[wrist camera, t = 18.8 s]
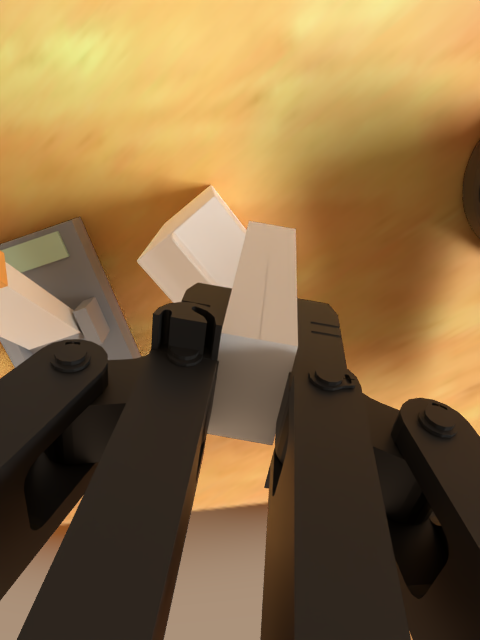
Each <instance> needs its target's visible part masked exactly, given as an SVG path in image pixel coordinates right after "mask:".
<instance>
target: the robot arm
mask: <svg viewBox="0 0 480 640" xmlns="http://www.w3.org/2000/svg"><path fill="white" fill-rule="evenodd" d="M463 204H464V210H465V213H466V217H467V219H468V222H469V224H470V226H471V228H472V229H473V231H474V232H475V234H476V235H477V236H478V237H479V238H480V140H479V142H478V143H477V145H476V147H475V149H474V151H473V153H472V155H471V157H470V159H469V162H468V165H467V168H466V172H465V176H464V182H463ZM339 328H340V325H339V319H338V315H337V314H336V312H335V311H334V310H333V309H332V308H331V306H330V305H329V304H326V303H321V302H315V301H309V300H303V299H298V298H297V266H296V229H293V228H287V227H281V226H275V225H270V224H264V223H258V222H252V221H249V223H248V227H247V231H246V235H245V239H244V243H243V247H242V251H241V255H240V259H239V263H238V267H237V271H236V275H235V279H234V283H233V287H232V288H227V287H221V286H215V285H210V284H204V283H196V284H194V285H193V286H191V287H190V288H188V289H187V290H186V291H185V294H184V296H183V298H182V301H181V302H176V303H169V304H166V305H164V306H162V307H159V308H158V309H157V310H156V311H155V312H154V313H153V325H152V346H151V351H150V353H149V354H148V355H146V356H143V357H139V358H133V359H121V360H108V354H107V353H106V351H105V350H104V349H103V347H101V346H100V345H98V344H96V343H94V342H91V341H86V340H81V339H67V340H62V341H58V342H54V343H51V344H49V345H47V346H45V347H43V348H42V349H40V350H39V351H37V352H36V353H35V354H33V355H32V356H31V357H29V358H28V359H26V360H25V361H24V362H22V363H21V364H20V365H18V366H17V367H16V368H14V369H13V370H12V371H10V372H9V373H8V374H6V375H5V376H3V377H2V378H1V379H0V600H1V599H2V598H3V596H4V595H5V594H6V592H7V591H8V590H9V589H10V587H11V586H12V585H13V584H14V582H15V581H16V580H17V579H18V577H19V576H20V574H21V573H22V572H23V571H24V570H25V568H26V567H27V566H28V565H29V563H30V562H31V561H32V560H33V558H34V557H35V556H36V554H37V553H38V552H39V551H40V549H41V548H42V547H43V545H44V544H45V543H46V542H47V540H48V539H49V538H50V536H51V535H52V534H53V533H54V532H55V530H56V529H57V528H58V527H59V525H60V524H61V523H62V521H63V520H64V519H65V518H66V516H67V515H68V514H69V513H70V511H71V510H72V509H73V508H74V506H75V505H76V504H77V502H78V501H79V500H80V499H81V497H82V496H83V495H84V496H83V498H82V500H81V502H80V504H79V506H78V509H77V511H76V513H75V515H74V517H73V519H72V521H71V524H70V526H69V528H68V530H67V532H66V535H65V537H64V539H63V541H62V543H61V545H60V547H59V550H58V552H57V554H56V556H55V558H54V561H53V563H52V565H51V567H50V569H49V571H48V573H47V575H46V578H45V580H44V582H43V584H42V586H41V588H40V591H39V593H38V595H37V597H36V599H35V601H34V604H33V606H32V608H31V610H30V612H29V614H28V616H27V619H26V621H25V623H24V625H23V627H22V629H21V632H20V634H19V636H18V638H17V640H163V639H164V635H165V631H166V626H167V621H168V617H169V612H170V607H171V603H172V598H173V593H174V589H175V583H176V580H177V575H178V570H179V565H180V561H181V556H182V552H183V547H184V542H185V538H186V533H187V529H188V524H189V519H190V515H191V510H192V505H193V501H194V496H195V491H196V487H197V482H198V477H199V473H200V468H201V464H202V459H203V454H204V448H205V441H206V435H207V434H212V435H218V436H223V437H229V438H234V439H240V440H246V441H251V442H257V443H262V444H268V445H273V441H274V437H275V449H274V453H273V456H272V460H271V464H270V468H269V471H268V475H267V479H266V483H265V487H264V488H269V498H268V517H267V534H266V551H265V569H264V587H263V604H262V622H261V640H411V638H410V634H411V636H412V638H413V640H480V437H479V435H478V434H477V433H476V431H475V430H474V429H473V427H472V426H471V425H470V423H469V422H468V421H467V420H466V419H465V418H464V417H463V416H462V415H461V414H460V413H458V412H457V411H455V410H454V409H452V408H451V407H449V406H447V405H445V404H443V403H440V402H438V401H435V400H431V399H425V398H415V399H409V400H408V401H407V402H405V403H404V404H402V407H401V409H400V410H397V409H395V408H392V407H390V406H387V405H385V404H382V403H380V402H378V401H375V400H373V399H371V398H369V397H368V396H366V395H365V394H363V393H362V390H361V385H360V383H359V381H358V379H357V377H356V376H355V375H354V374H353V373H352V372H351V371H350V370H348V369H347V366H346V360H345V354H344V349H343V343H342V338H341V331H340V329H339ZM275 433H276V435H275ZM409 631H410V633H409Z"/></svg>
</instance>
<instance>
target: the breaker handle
mask: <svg viewBox="0 0 480 640" xmlns="http://www.w3.org/2000/svg"><path fill="white" fill-rule="evenodd" d="M73 311H74V310H72V309H71V308H70V307H68V306H67V305H65V304H64V303H63V302H61V301H60V300H58V299H57V298H56V297H54V296H53V295H51V294H50V293H49V292H47V291H46V290H44V289H43V288H42V287H40V286H39V285H37V284H36V283H34V282H33V281H32V280H30V279H29V278H27V277H26V276H25V275H23V274H22V273H20V272H19V271H18V270H16V269H15V268H13V267H12V266H11V265H9V264H8V263H6V262H5V256H4V253H3V252H2V251H0V337H2V338H4V339H6V340H9V341H11V342H13V343H15V344H17V345H20V346H22V347H24V348H26V349H28V350H30V352H32V353H33V354H35V353H36V352H37V351H39V350H40V349H42V348H43V347H45V346H47V345H49V344H51V343H54V342H58V341H62V340H67V339H83V338H85V337H84V335H83V333H82V331H81V328H80V326H79V324H78V322H77V320H76V318H75V316H74V314H73Z"/></svg>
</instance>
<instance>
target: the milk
mask: <svg viewBox="0 0 480 640" xmlns="http://www.w3.org/2000/svg"><path fill="white" fill-rule="evenodd" d="M246 231H247V230H246V229H245V227H244V226H243V225H242V223H241V222H240V221H239V220H238V218H237V217H236V216H235V214H234V213H233V212H232V211H231V209H230V208H229V207H228V205H227V204H226V203H225V202H224V200H223V199H222V198H221V196H220V195H219V194H218V193H217V191H216V190H215V189H214V187H213V186H212V185H210V186H209V187H207V188H206V189H205V190H204V191H203V192H201V193H200V194H199V195H198V196H197V197H195V198H194V199H193V200H192V201H191V202H189V203H188V204H187V205H186V206H185V207H183V208H182V209H181V210H180V211H179V212H177V213H176V214H175V215H174V216H173V217H171V218H170V219H169V220H168V221H167V222H165V223H164V225H163V226H162V227H161V229H160V230H159V231H158V233H157V234H156V235H155V237H154V238H153V239H152V241H151V242H150V243H149V245H148V246H147V248H146V249H145V250H144V252H143V253H142V254H141V256H140V257H139V258H138V260H137V262H138V264H139V265H140V266H141V267H142V268H143V269H144V270H145V272H146V273H147V274H148V275H149V276H150V277H151V278H152V279H153V281H154V282H155V283H156V284H157V285H158V286H159V287H160V288H161V290H162V291H163V292H164V293H165V294H166V295H167V296H168V297H169V299H170V300H171V301H172V302H173V303H176V302H181V301H182V298H183V296H184V294H185V291H186V290H187V289H188V288H190V287H191V286H193V285H194V284H196V283H204V284H210V285H215V286H221V287H227V288H232V287H233V283H234V279H235V275H236V271H237V267H238V263H239V259H240V255H241V251H242V247H243V243H244V239H245V235H246Z"/></svg>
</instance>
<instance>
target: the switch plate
mask: <svg viewBox="0 0 480 640" xmlns="http://www.w3.org/2000/svg"><path fill="white" fill-rule="evenodd" d="M0 251H2V252H3V253H4V256H5V262H6V263H8V264H9V265H11V266H12V267H13V268H15V269H16V270H18V271H19V272H20V273H22V274H23V275H25V276H26V277H27V278H29V279H30V280H32V281H33V282H34V283H36V284H37V285H39V286H40V287H42V288H43V289H44V290H46V291H47V292H49V293H50V294H51V295H53V296H54V297H56V298H57V299H58V300H60V301H61V302H63V303H64V304H65V305H67V306H68V307H70V308H71V309H72V310H74V311H73V314H74V316H75V318H76V320H77V322H78V324H79V326H80V328H81V331H82V333H83V335H84V337H85V338H83V339H81V340H86V341H91V342H94V343H96V344H98V345H100V346H101V347H103V349H104V350H105V351H106V353H107V354H108V360H121V359H133V358H139V357H141V355H140V353H139V350H138V348H137V346H136V343H135V341H134V339H133V337H132V334H131V332H130V330H129V327H128V325H127V323H126V321H125V318H124V316H123V314H122V311H121V309H120V307H119V304H118V302H117V300H116V298H115V295H114V293H113V291H112V288H111V286H110V284H109V282H108V279H107V277H106V275H105V272H104V270H103V268H102V266H101V263H100V261H99V259H98V256H97V254H96V252H95V250H94V247H93V245H92V243H91V240H90V238H89V236H88V234H87V231H86V229H85V227H84V224H83V222H82V220H81V218H80V217H78V218H75V219H72V220H69V221H66V222H63V223H60V224H57V225H55V226H52V227H49V228H46V229H43V230H40V231H37V232H34V233H31V234H28V235H26V236H23V237H20V238H17V239H14V240H11V241H8V242H5V243H2V244H0ZM0 341H1V343H2V345H3V347H4V349H5V351H6V352H7V354H8V356H9V358H10V360H11V362H12V363H13V365H14V367H15V368H16V367H17V366H18V365H20V364H21V363H22V362H24V361H25V360H26V359H28V358H29V357H31V356H32V355H33V353H32V352H30V350H28V349H26V348H24V347H22V346H20V345H17V344H15V343H13V342H11V341H9V340H6V339H4V338H2V337H0Z"/></svg>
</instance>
